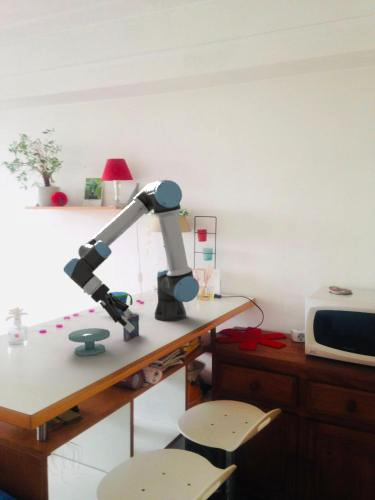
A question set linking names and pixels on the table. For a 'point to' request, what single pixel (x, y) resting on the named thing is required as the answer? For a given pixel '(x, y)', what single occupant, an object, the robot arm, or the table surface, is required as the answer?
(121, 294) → the snack cup
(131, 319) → the flask
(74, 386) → the table surface
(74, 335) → the cake stand
